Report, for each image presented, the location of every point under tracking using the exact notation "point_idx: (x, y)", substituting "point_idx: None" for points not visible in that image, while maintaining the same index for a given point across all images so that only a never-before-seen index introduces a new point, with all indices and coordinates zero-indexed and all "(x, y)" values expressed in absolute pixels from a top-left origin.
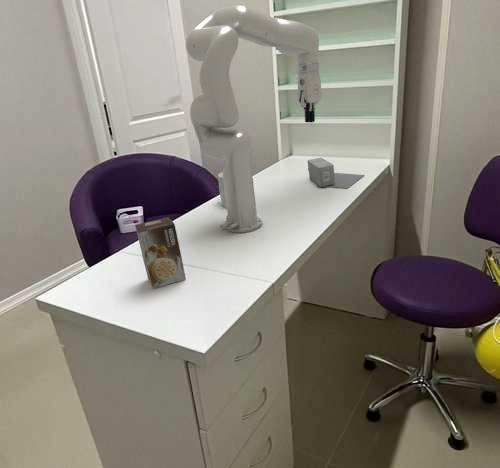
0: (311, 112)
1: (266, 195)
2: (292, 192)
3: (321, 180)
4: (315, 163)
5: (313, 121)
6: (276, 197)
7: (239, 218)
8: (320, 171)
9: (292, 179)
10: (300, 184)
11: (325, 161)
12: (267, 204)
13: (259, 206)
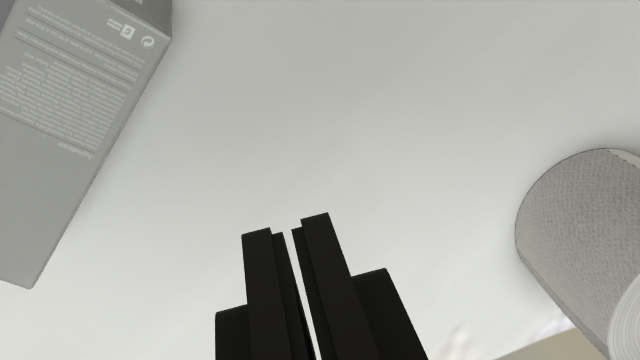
0: (378, 357)
1: (443, 181)
2: (333, 98)
3: (159, 1)
4: (82, 155)
5: (277, 233)
6: (445, 112)
7: None
8: (159, 20)
9: (144, 275)
10: (188, 167)
11: None
12: (554, 68)
13: (593, 81)
